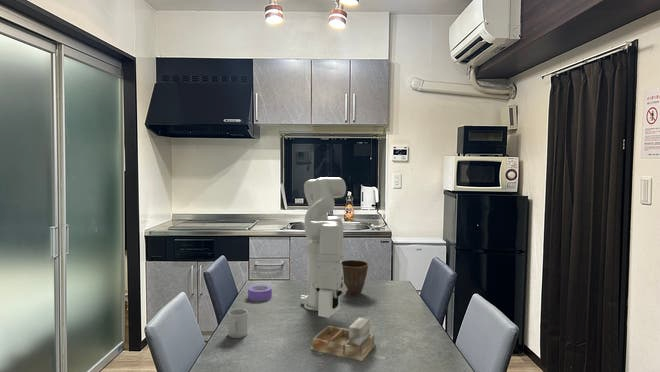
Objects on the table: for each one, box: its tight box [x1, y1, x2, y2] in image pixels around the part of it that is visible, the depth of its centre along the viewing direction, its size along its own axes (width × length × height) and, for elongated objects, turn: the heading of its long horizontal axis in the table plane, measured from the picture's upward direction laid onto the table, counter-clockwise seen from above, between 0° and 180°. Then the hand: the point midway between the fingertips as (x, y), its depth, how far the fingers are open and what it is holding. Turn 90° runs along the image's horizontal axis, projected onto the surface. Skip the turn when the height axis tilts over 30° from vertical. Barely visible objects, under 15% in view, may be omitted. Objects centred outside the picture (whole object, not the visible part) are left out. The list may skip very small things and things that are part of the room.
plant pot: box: [341, 259, 369, 297], centre depth 212 cm, size 15×15×16 cm
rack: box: [310, 317, 377, 362], centre depth 149 cm, size 20×14×10 cm
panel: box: [317, 288, 341, 319], centre depth 151 cm, size 4×10×9 cm, turn 155°
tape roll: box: [247, 284, 273, 302], centre depth 205 cm, size 12×12×5 cm
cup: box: [228, 308, 249, 339], centre depth 158 cm, size 7×10×9 cm
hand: (329, 306), depth 151 cm, fingers closed on panel, 4 cm apart
